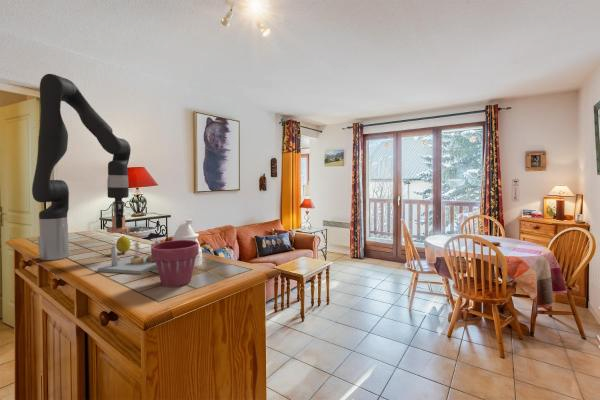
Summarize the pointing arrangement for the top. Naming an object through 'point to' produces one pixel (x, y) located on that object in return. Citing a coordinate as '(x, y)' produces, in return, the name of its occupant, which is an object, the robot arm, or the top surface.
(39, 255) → the robot arm
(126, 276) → the top surface
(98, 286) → the top surface
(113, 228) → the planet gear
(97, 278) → the top surface
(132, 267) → the carrier
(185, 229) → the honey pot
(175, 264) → the plant pot
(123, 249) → the lemon
